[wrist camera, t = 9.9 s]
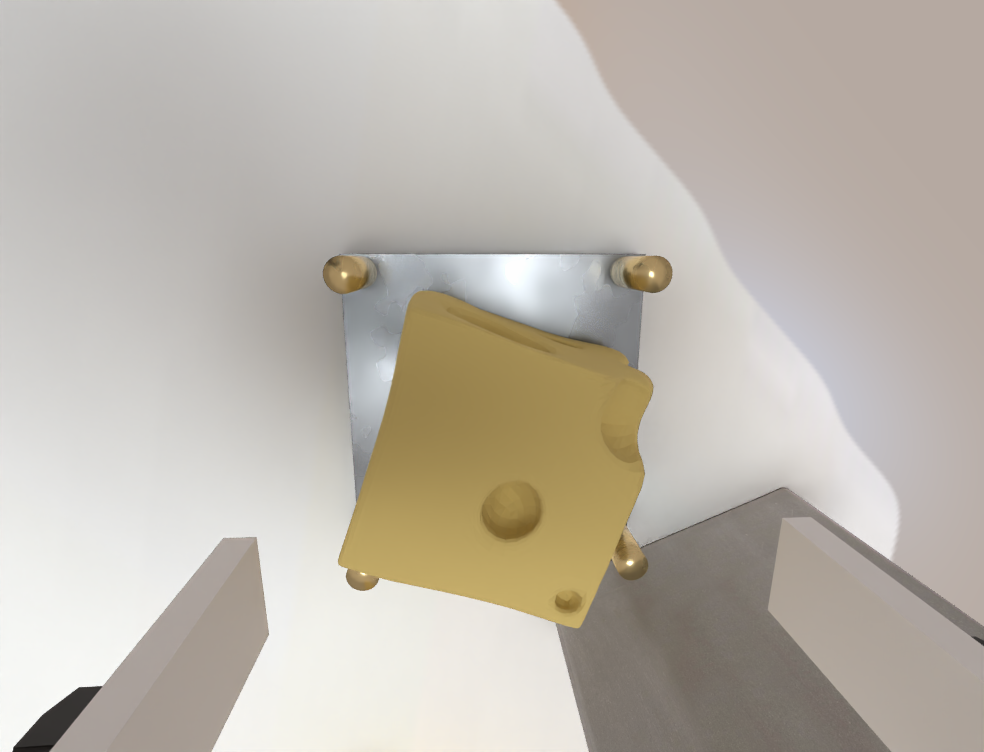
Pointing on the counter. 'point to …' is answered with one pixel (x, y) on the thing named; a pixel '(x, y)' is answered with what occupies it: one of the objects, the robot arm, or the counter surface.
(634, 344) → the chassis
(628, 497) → the cheese
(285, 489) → the counter surface
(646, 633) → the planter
